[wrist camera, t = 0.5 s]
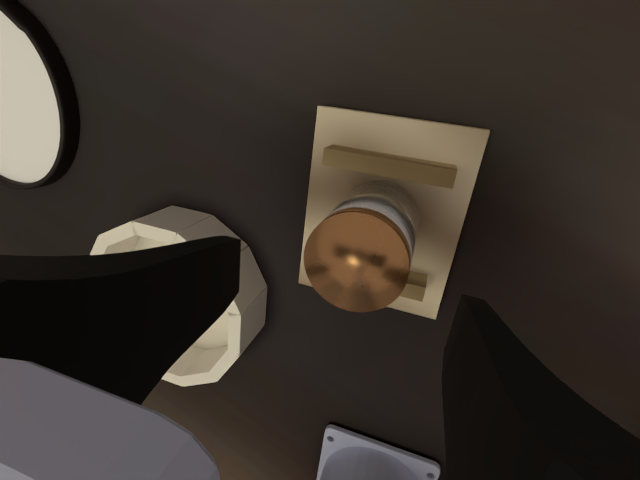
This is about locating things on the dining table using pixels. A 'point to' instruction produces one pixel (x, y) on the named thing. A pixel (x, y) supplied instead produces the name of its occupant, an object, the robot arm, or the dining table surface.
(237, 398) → the dining table surface
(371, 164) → the checker cradle
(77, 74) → the dining table surface
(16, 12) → the magnifying glass
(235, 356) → the cup
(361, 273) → the cylinder
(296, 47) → the dining table surface
